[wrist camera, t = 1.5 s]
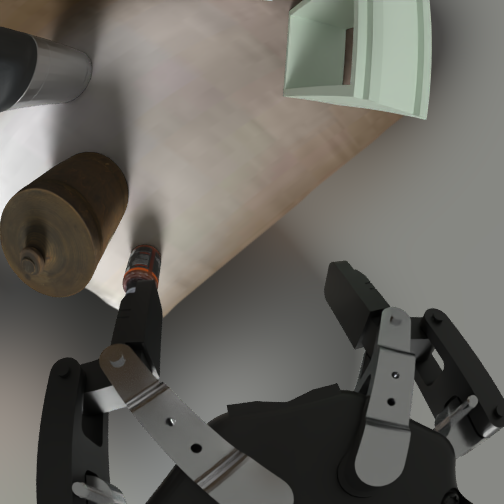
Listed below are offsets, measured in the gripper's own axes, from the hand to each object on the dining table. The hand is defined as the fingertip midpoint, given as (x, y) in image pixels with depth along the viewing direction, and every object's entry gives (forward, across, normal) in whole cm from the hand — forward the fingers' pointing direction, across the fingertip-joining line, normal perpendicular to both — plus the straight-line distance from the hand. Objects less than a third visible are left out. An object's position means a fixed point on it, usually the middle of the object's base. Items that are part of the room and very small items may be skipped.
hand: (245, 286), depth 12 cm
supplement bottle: (+34, +13, +18) cm, 40 cm away
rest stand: (+34, -17, -17) cm, 41 cm away
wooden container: (+34, +21, +5) cm, 40 cm away
